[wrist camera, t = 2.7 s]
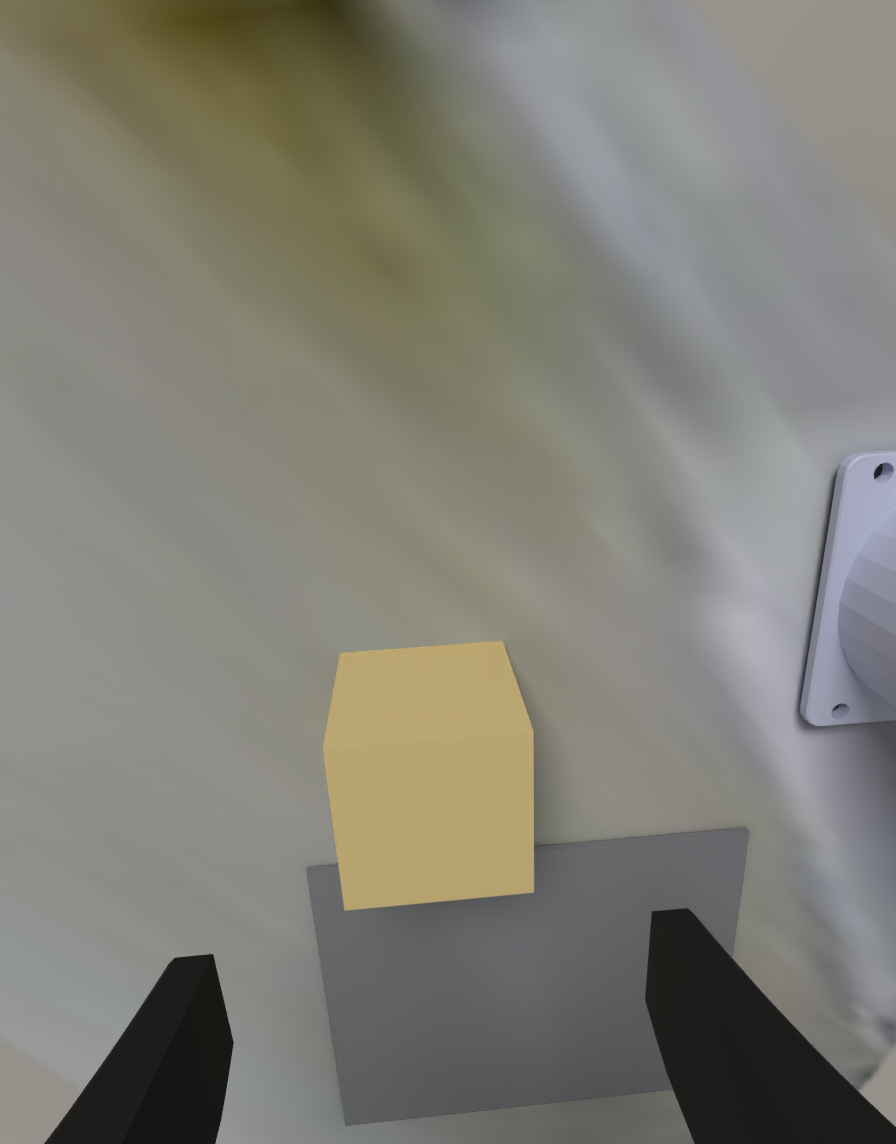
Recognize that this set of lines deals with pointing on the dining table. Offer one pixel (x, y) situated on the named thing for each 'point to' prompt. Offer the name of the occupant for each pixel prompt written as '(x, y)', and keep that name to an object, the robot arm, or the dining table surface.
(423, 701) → the block
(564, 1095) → the placemat
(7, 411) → the dining table surface
